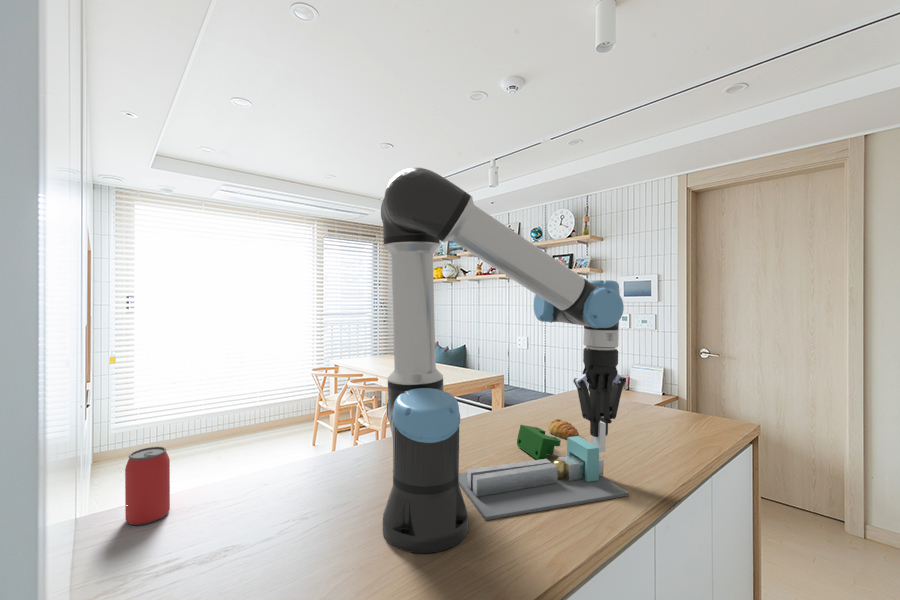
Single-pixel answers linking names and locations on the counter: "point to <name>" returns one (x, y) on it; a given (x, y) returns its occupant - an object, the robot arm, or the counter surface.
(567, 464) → the tongs body
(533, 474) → the arm
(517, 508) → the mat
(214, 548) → the counter surface
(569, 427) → the pastry
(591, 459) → the collar
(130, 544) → the counter surface
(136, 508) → the beer can
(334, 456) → the counter surface
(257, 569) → the counter surface
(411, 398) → the robot arm
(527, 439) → the clamp
